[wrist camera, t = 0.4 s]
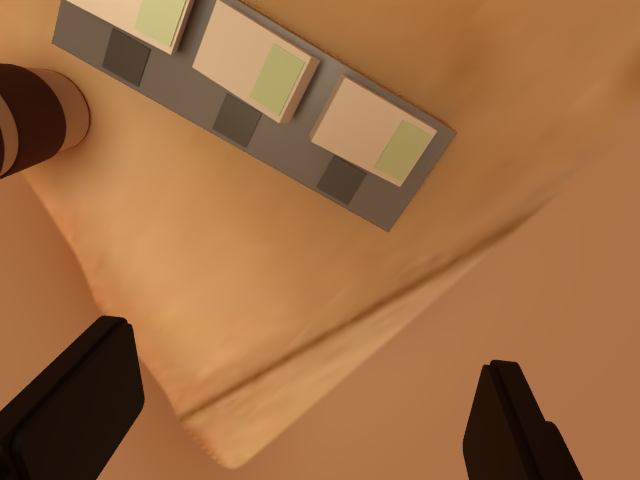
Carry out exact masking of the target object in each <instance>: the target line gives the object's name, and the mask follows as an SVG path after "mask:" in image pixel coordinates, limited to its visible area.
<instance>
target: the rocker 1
mask: <svg viewBox="0 0 640 480" xmlns="http://www.w3.org/2000/svg"><path fill="white" fill-rule="evenodd" d="M67 1H69V2H71V3H72V4H74V5H76V6H78V7H80V8H82V9H84V10H86V11H88V12H90V13H92V14H94V15H95V16H97V17H99V18H101V19H103V20H105V21H107V22H109V23H111V24H113V25H115V26H117V27H118V28H120V29H122V30H124V31H126V32H128V33H130V34H132V35H134V36H136V37H138V38H140V39H141V40H143V41H145V42H147V43H149V44H151V45H153V46H155V47H157V48H159V49H161V50H163V51H165V52H166V53H168V54H170V55H171V54H174V53H176V52H177V50H178V47H179V44H180V41H181V38H182V35H183V32H184V29H185V27H186V24H187V21H188V18H189V15H190V12H191V9H192V7H193V4H194V1H195V0H67Z"/></svg>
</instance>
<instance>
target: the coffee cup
mask: <svg viewBox="0 0 640 480" xmlns="http://www.w3.org/2000/svg"><path fill="white" fill-rule="evenodd" d="M88 127H89V112H88V107H87V104H86V102H85V100H84V98H83V96H82V94H81V93H80V91H79V90H78V89H77V87H76V86H75V85H74V84H73V83H72V82H71V81H70V80H68V79H67V78H66V77H64V76H63V75H61V74H59V73H57V72H53V71H50V70H46V69H32V68H23V67H20V66H16V65H12V64H1V63H0V179H2V178H4V177H7V176H9V175H12V174H14V173H16V172H19V171H21V170H24V169H26V168H28V167H31V166H33V165H36V164H38V163H40V162H43V161H45V160H47V159H49V158H51V157H53V156H54V155H55V154H56V153H58V152H60V151H63V150H65V149H68V148H70V147H73V146H75V145H76V144H78V143H79V142H80V141H81V140H82V139H83V138H84V136H85V135H86V133H87V130H88Z"/></svg>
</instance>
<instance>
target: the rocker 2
mask: <svg viewBox="0 0 640 480" xmlns="http://www.w3.org/2000/svg"><path fill="white" fill-rule="evenodd" d="M436 132H437V130H435V129H434V128H433V127H432V126H430V125H429V124H428V123H426V122H424V121H422V120H421V119H419V118H417V117H416V116H414V115H412V114H410V113H409V112H407V111H405V110H404V109H402V108H400V107H398V106H397V105H395V104H393V103H391V102H390V101H388V100H386V99H385V98H383V97H381V96H379V95H378V94H376V93H374V92H373V91H371V90H369V89H367V88H366V87H364V86H362V85H361V84H359V83H357V82H355V81H354V80H352V79H350V78H348V77H347V76H345V75H343V74H342V73H341V75H340V77H339V79H338V81H337V83H336V84H335V86H334V88H333V90H332V92H331V94H330V96H329V98H328V100H327V102H326V103H325V105H324V107H323V109H322V111H321V113H320V115H319V117H318V119H317V121H316V122H315V124H314V126H313V128H312V130H311V132H310V134H309V135H310V140H311V142H313V143H315V144H316V145H318V146H320V147H322V148H324V149H326V150H328V151H330V152H332V153H334V154H336V155H338V156H340V157H342V158H344V159H346V160H348V161H350V162H352V163H354V164H356V165H358V166H360V167H362V168H364V169H365V170H367V171H369V172H371V173H373V174H375V175H377V176H379V177H381V178H383V179H385V180H387V181H389V182H391V183H393V184H395V185H397V186H399V187H400V186H401V185H402V183H403V182H404V180H405V179H406V177H407V176H408V174H409V173H410V171H411V170H412V168H413V167H414V165H415V164H416V162H417V161H418V159H419V158H420V156H421V155H422V153H423V152H424V150H425V149H426V147H427V146H428V144H429V143H430V141H431V140H432V138H433V137H434V135H435V134H436Z"/></svg>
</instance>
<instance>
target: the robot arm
mask: <svg viewBox="0 0 640 480" xmlns="http://www.w3.org/2000/svg"><path fill="white" fill-rule="evenodd" d="M144 400H145V398H144V391H143V385H142V380H141V374H140V368H139V362H138V356H137V350H136V344H135V338H134V333H133V328H132V325H131V324H128V323H127V320H126V319H125V318H122V317H114V316H105V315H104V316H101V317H99V318H98V319H97V320H96V321H95V322H94V323H93V324H92V325H91V326H90V327H89V328H88V329H87V330H85V331H84V332H83V333H82V334H81V335H80V336H79V337H78V338H77V339H76V340H75V341H74V342H73V343H72V344H71V345H70V346H69V347H68V348H66V350H64V351H63V352H62V353H61V354H60V355H59V356H58V357H57V358H56V359H55V360H54V361H53V362H52V363H51V364H50V365H49V366H47V368H46V369H44V370H43V371H42V372H41V373H40V374H39V375H38V376H37V377H36V378H35V379H34V380H33V381H32V382H31V383H30V384H29V385H27V386H26V387H25V388H24V389H23V390H22V391H21V392H20V393H19V394H18V395H17V396H16V397H15V398H14V399H13V400H12V401H11V402H10V403H9V404H8V405H6V406H5V407H4V408H3V409H2V410H1V411H0V480H96V479H97V478H98V476H99V475H100V473H101V472H102V470H103V469H104V467H105V465H106V464H107V462H108V461H109V459H110V458H111V456H112V455H113V453H114V452H115V450H116V449H117V447H118V446H119V444H120V443H121V441H122V439H123V438H124V437H125V435H126V433H127V432H128V431H129V429H130V427H131V426H132V424H133V423H134V421H135V420H136V418H137V417H138V415H139V414H140V412H141V410H142V408H143V405H144ZM463 455H464V459H465V464H466V468H467V472H468V477H469V480H583V478H582V476H581V474H580V472H579V470H578V468H577V466H576V464H575V462H574V460H573V458H572V456H571V454H570V452H569V450H568V448H567V446H566V444H565V442H564V440H563V438H562V436H561V434H560V432H559V430H558V428H557V427H556V425H555V424H554V423H552V422H549V421H545V419H544V417H543V415H542V413H541V411H540V408H539V406H538V404H537V402H536V400H535V398H534V396H533V394H532V391H531V389H530V387H529V385H528V383H527V381H526V379H525V377H524V375H523V372H522V370H521V368H520V366H519V364H518V363H517V362H511V361H502V360H492V361H491V363H490V365H483V367H482V371H481V374H480V378H479V382H478V386H477V390H476V393H475V397H474V401H473V405H472V408H471V412H470V416H469V420H468V423H467V427H466V431H465V435H464V439H463Z"/></svg>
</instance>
